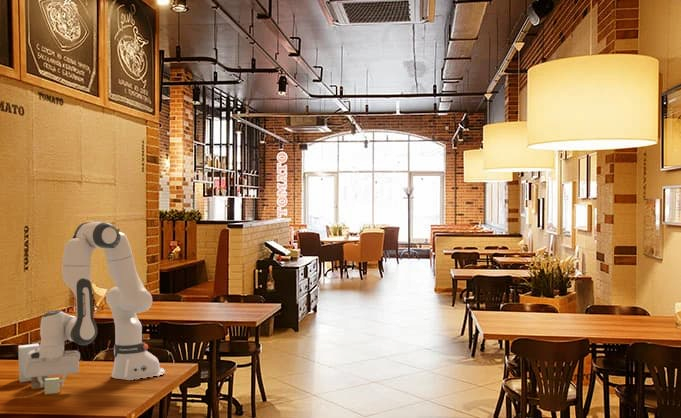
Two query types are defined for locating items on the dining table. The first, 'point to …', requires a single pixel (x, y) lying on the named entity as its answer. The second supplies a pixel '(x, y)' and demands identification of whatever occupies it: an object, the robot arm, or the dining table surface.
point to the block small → (51, 385)
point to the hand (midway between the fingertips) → (51, 386)
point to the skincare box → (24, 359)
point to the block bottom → (37, 382)
